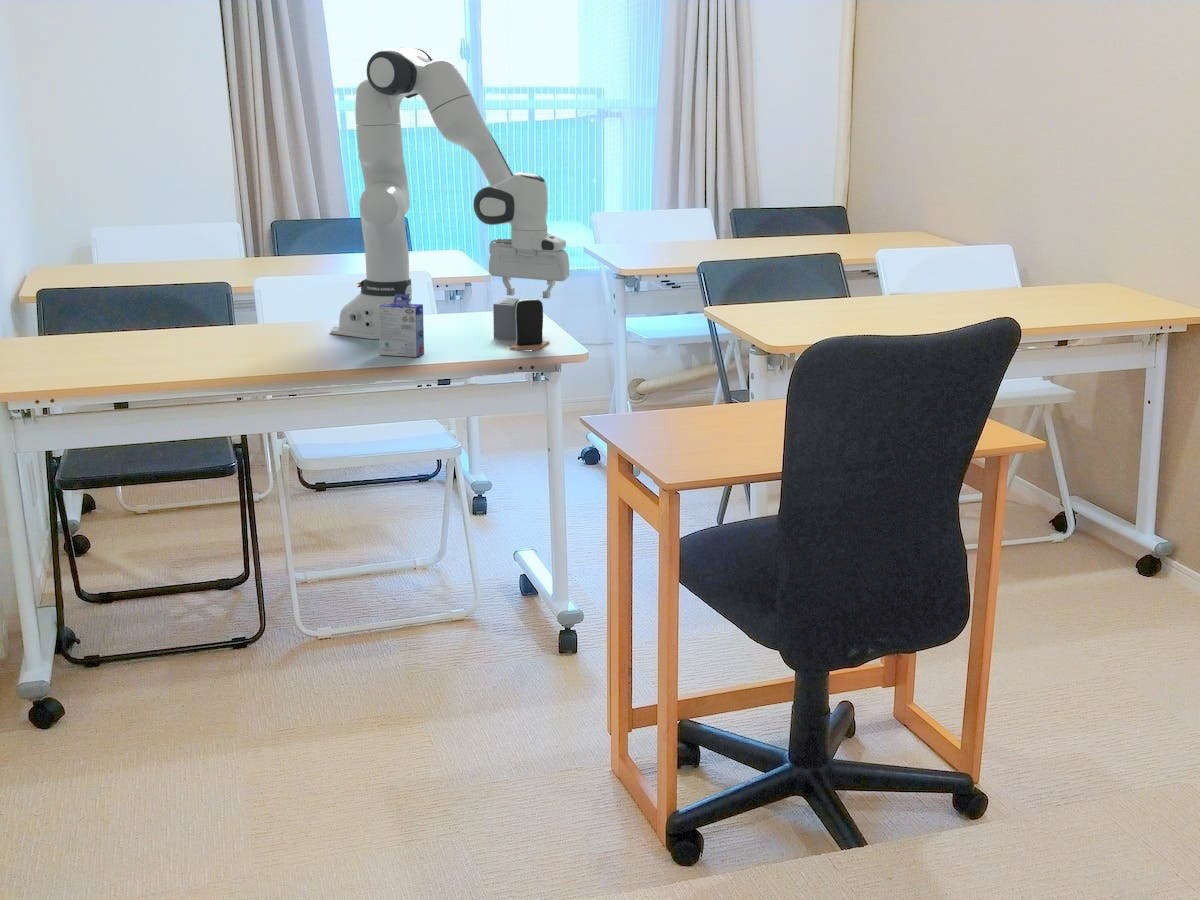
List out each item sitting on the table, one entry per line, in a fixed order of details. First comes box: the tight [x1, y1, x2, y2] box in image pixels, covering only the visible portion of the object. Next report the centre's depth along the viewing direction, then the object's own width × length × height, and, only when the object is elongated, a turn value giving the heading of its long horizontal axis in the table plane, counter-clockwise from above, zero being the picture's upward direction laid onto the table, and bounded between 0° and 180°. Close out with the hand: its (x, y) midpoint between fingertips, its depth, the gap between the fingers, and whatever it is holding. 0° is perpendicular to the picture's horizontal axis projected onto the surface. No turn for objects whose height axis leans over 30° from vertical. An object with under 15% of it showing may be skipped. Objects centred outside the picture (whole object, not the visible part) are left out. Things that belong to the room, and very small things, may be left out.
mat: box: [509, 340, 550, 352], centre depth 297 cm, size 7×10×1 cm
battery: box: [514, 298, 544, 345], centre depth 296 cm, size 7×4×11 cm, turn 109°
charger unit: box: [492, 297, 520, 341], centre depth 308 cm, size 8×10×9 cm
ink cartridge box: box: [378, 294, 425, 358], centre depth 284 cm, size 10×6×14 cm, turn 79°
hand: (528, 296), depth 293 cm, fingers open, 8 cm apart
